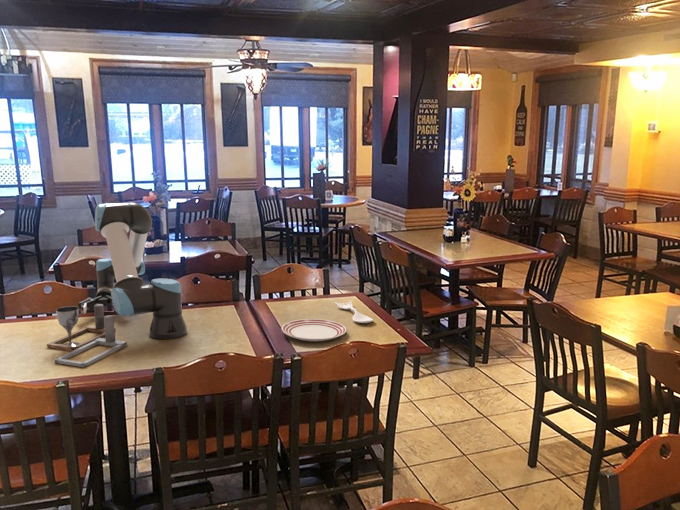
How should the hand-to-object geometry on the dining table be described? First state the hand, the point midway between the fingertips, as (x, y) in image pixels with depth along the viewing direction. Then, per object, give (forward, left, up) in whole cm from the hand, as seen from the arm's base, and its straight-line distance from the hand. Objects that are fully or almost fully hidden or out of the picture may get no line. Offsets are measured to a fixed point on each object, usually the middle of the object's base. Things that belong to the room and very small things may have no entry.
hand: (101, 309), depth 254 cm
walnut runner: (-5, +18, -7) cm, 20 cm away
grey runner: (-20, +30, -7) cm, 37 cm away
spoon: (-100, -52, -8) cm, 113 cm away
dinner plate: (-91, -20, -8) cm, 94 cm away
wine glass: (-5, +25, -7) cm, 27 cm away
